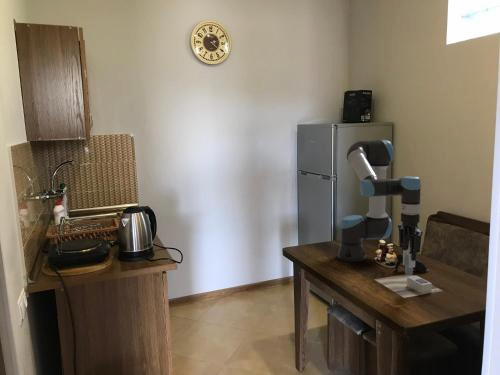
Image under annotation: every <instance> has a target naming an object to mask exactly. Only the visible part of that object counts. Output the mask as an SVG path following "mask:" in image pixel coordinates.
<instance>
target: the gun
mask: <svg viewBox="0 0 500 375" xmlns="http://www.w3.org/2000/svg"><path fill="white" fill-rule="evenodd" d="M396 260H397V261H396V263H395V267H394V269H395V272H398V271H399V267H402V268H403V269H405V265H403V253H398V254H397V256H396ZM413 271H416V272H418V273H426V272H427V273H429V269H428V268H427V266H426V265H425V264H424V263H423V262H422V261H421V260H419V259H417V258H416V260H415V267H413Z"/></svg>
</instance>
